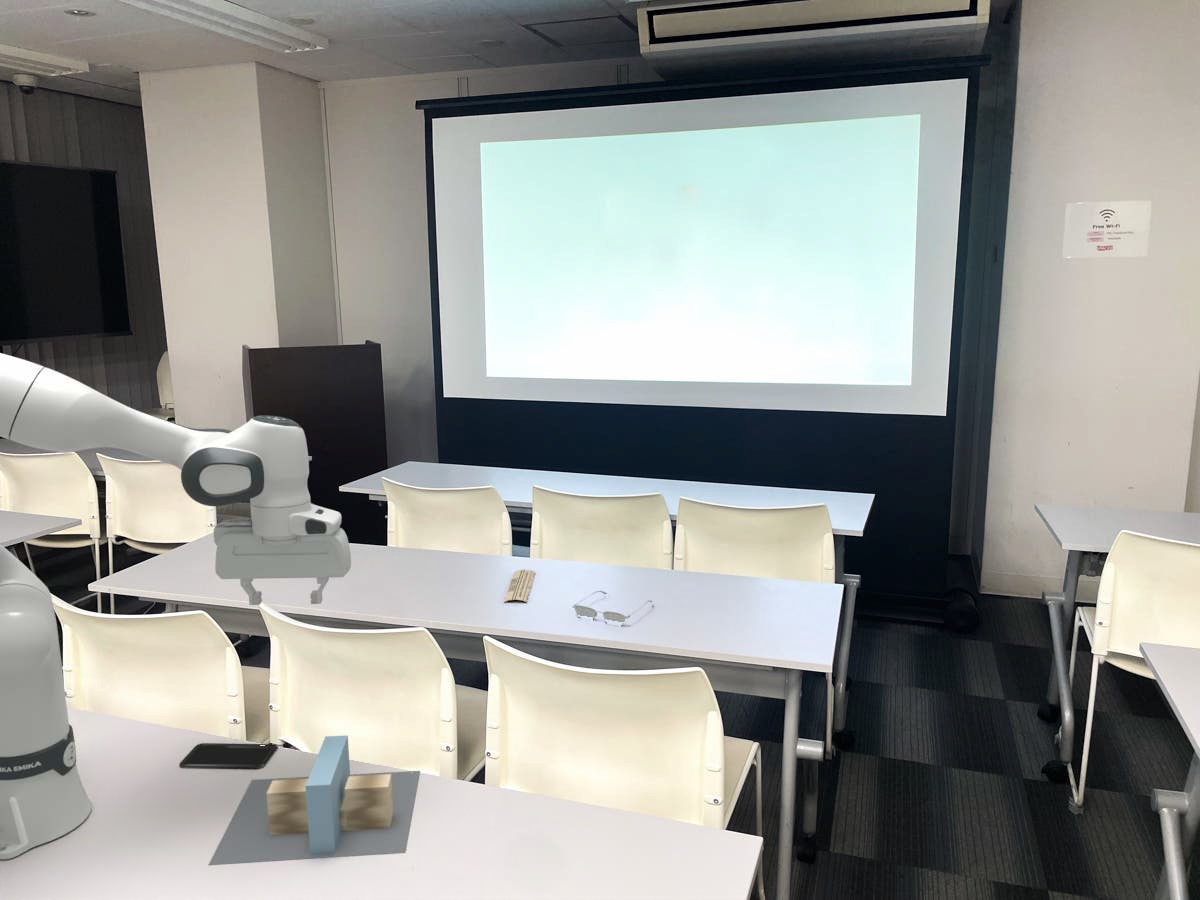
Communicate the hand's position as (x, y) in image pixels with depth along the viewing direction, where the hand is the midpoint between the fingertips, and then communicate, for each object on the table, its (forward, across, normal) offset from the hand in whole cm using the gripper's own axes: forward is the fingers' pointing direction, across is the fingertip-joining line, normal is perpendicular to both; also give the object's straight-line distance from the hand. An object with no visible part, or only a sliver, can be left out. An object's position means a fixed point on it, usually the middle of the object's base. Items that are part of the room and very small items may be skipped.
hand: (286, 603), depth 141 cm
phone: (+33, -14, +11) cm, 38 cm away
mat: (+33, +6, -8) cm, 34 cm away
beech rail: (+32, +8, -11) cm, 35 cm away
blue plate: (+32, +8, -10) cm, 35 cm away
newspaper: (+32, +37, +94) cm, 106 cm away
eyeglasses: (+32, +61, +74) cm, 102 cm away
